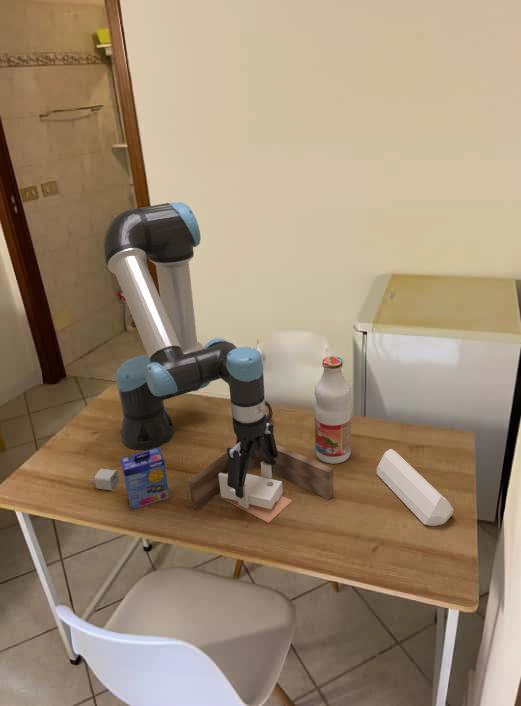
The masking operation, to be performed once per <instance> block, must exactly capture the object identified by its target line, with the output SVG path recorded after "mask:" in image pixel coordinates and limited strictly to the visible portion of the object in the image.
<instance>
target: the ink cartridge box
mask: <svg viewBox="0 0 521 706" xmlns="http://www.w3.org/2000/svg"><path fill="white" fill-rule="evenodd" d="M119 461H120V464H121V465H120V467H121V471H122V475H123V481H124V486H125V490H126V494H127V499H128V502H129V506H130V509H131V510H134V509H137V508H141V507H145V506H148V505H151V504H155V503H157V502H162V501H165V500H168V499H170V498H171V495H170V491H169V484H168V478H167V471H166V464H165V463H166V462H165V458H164V456H163V453H162V450H161V449H160V447H155V448H151V449H146V450H145V451H143V452H139V453H133V454H131V455H127V456H124V457H121V458H120V460H119Z"/></svg>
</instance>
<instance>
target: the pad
mask: <svg viewBox="0 0 521 706" xmlns="http://www.w3.org/2000/svg"><path fill="white" fill-rule="evenodd" d="M220 498H221V499H223V500H224V501H226V502H228V503H230V504H232V505H234V506H236V507H237V508H239V509H241V510H243V511H245V512H246V513H248V514H250V515H252V516H254V517H256V518H258V519H260V520H261V521H263V522H265V523H267V524H270V523H271V522H272V521H273V520H274V519H275V518H276V517H277V516H278V515H279V514H280V513H282V512H283V511H284V510H285V509H286V508H287V507H289V505H291V503H292V502H293V500H291V499H290V498H287V497H285V496H283V494H282V495H281V497H280V499H279V500H278V502H275V503H274V505H273V507H272V508H271V509H268V508H264V507H260V506H256V505H252V504H249V507H248V508H247V509H246V508H244V507H242V506H240V505H239V504H238V501H236V500H232V499H228V498H224V497H221V496H220Z"/></svg>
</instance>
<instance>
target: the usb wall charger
mask: <svg viewBox="0 0 521 706" xmlns="http://www.w3.org/2000/svg"><path fill="white" fill-rule="evenodd" d="M92 477H94V479H93V478H88V479H87V481H88V482H90V483H95V487H96V489H97V490H106V491H114V490H115V488H116V487H117V486H118V485H119V483H120V477H119V472H118V470H116V469H115V470H114V469H106V468H100V469H99V471H97V472H96V473H92Z"/></svg>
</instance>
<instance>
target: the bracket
mask: <svg viewBox="0 0 521 706" xmlns="http://www.w3.org/2000/svg"><path fill="white" fill-rule="evenodd" d="M218 477H219V484H220V491H221V492H220V498H221V497H224V498H228V499H232V500H236V501H238V497H237V496H236V493H235V489H233V488H231V487H229V486H228V485H227V481H228V473H227V474H224V473H219V475H218ZM244 484H246V485H247V491H248V502H249V504H252V505H256V506H260V507H264V508H268V509H271V508H272V507H273V505H274V503H275V502H278V500H279V499H280V497H281V495H282V496H283V494H284V490H283V482H282V481H281V480H277V479H273V478H272V479H269V478H264V477H262V476H261V475H260V476H259V475H255V474H251V473H247V474H246V479H245V483H244Z"/></svg>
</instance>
